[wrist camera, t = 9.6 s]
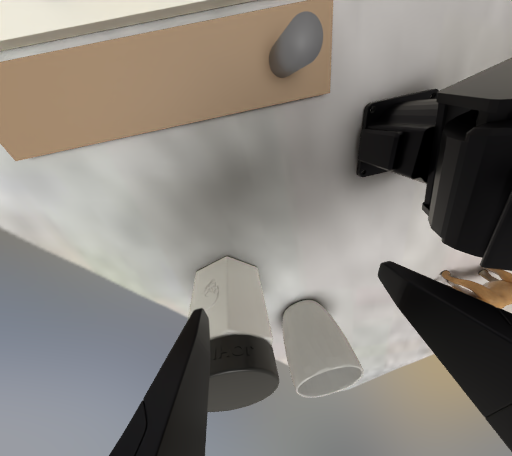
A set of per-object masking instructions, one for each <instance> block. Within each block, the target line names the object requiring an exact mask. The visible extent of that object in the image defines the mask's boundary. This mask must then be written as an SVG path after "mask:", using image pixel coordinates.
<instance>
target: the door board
mask: <svg viewBox="0 0 512 456" xmlns="http://www.w3.org/2000/svg"><path fill="white" fill-rule="evenodd" d="M250 1H255V0H0V51H4V50H9V49H14V48H19V47H24V46H29V45H34V44H39V43H44V42H49V41H54V40H59V39H64V38H69V37H74V36H79V35H84V34H89V33H94V32H99V31H104V30H109V29H114V28H119V27H124V26H130V25H135V24H140V23H145V22H150V21H155V20H160V19H165V18H170V17H175V16H180V15H185V14H190V13H195V12H200V11H205V10H210V9H215V8H220V7H225V6H230V5H235V4H240V3H245V2H250ZM332 18H333V0H307V1H302V2H297V3H292V4H287V5H282V6H277V7H272V8H267V9H262V10H257V11H252V12H247V13H242V14H237V15H232V16H227V17H222V18H217V19H212V20H207V21H202V22H197V23H192V24H187V25H182V26H177V27H172V28H167V29H162V30H158V31H153V32H148V33H143V34H138V35H133V36H128V37H123V38H118V39H113V40H108V41H103V42H98V43H93V44H88V45H83V46H78V47H73V48H68V49H63V50H58V51H53V52H48V53H43V54H38V55H33V56H28V57H23V58H18V59H13V60H8V61H3V62H0V144H1V145H2V146H3V147H4V148H5V149H6V151H7V152H8V153H9V154H10V155H11V156H12V157H13V159H14V160H15V161H18V160H23V159H28V158H32V157H37V156H41V155H46V154H51V153H55V152H60V151H64V150H69V149H74V148H78V147H83V146H88V145H92V144H97V143H101V142H106V141H111V140H115V139H120V138H124V137H129V136H134V135H138V134H143V133H147V132H152V131H157V130H161V129H166V128H170V127H175V126H180V125H184V124H189V123H193V122H198V121H203V120H207V119H212V118H217V117H221V116H226V115H230V114H235V113H240V112H244V111H249V110H253V109H258V108H263V107H267V106H272V105H276V104H281V103H286V102H290V101H295V100H299V99H304V98H309V97H313V96H318V95H322V94H327V93H330V77H331V48H332Z"/></svg>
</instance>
